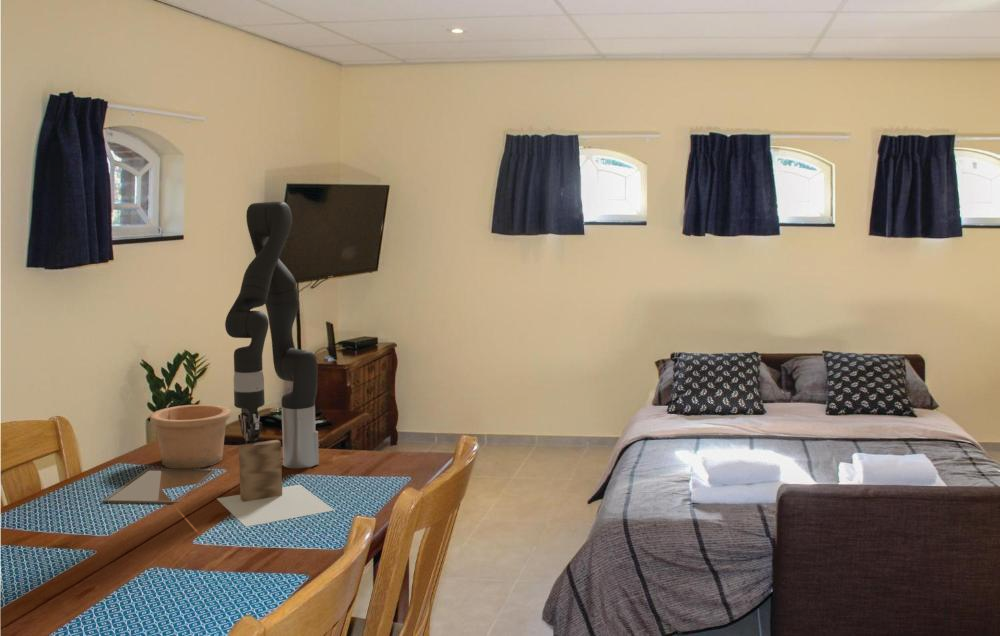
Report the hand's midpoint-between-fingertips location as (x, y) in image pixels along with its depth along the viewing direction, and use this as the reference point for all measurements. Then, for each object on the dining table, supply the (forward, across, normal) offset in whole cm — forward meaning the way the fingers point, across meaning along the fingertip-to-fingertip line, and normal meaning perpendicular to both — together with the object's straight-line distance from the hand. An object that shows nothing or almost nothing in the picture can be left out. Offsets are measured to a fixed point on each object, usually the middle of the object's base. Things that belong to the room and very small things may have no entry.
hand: (251, 453), depth 245 cm
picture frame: (+11, +17, +19) cm, 28 cm away
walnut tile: (+10, -7, 0) cm, 12 cm away
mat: (+10, -14, -1) cm, 17 cm away
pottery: (+10, +37, +6) cm, 39 cm away
